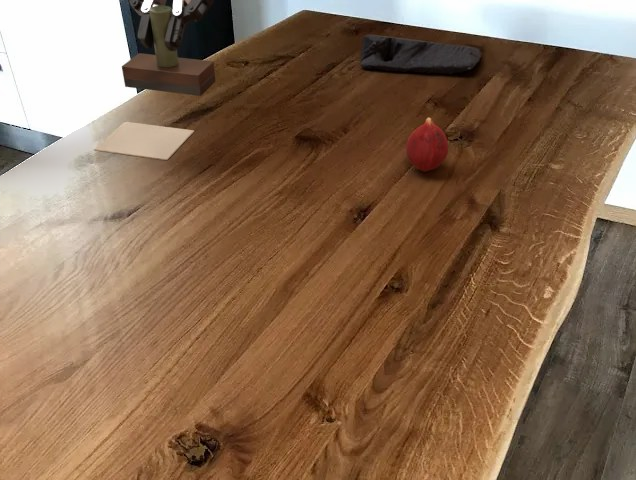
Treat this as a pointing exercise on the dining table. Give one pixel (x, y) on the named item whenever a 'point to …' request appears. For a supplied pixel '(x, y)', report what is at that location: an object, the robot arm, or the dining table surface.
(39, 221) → the dining table surface
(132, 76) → the stamp with green handle
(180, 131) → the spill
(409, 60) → the dark slate chunk
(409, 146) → the onion
